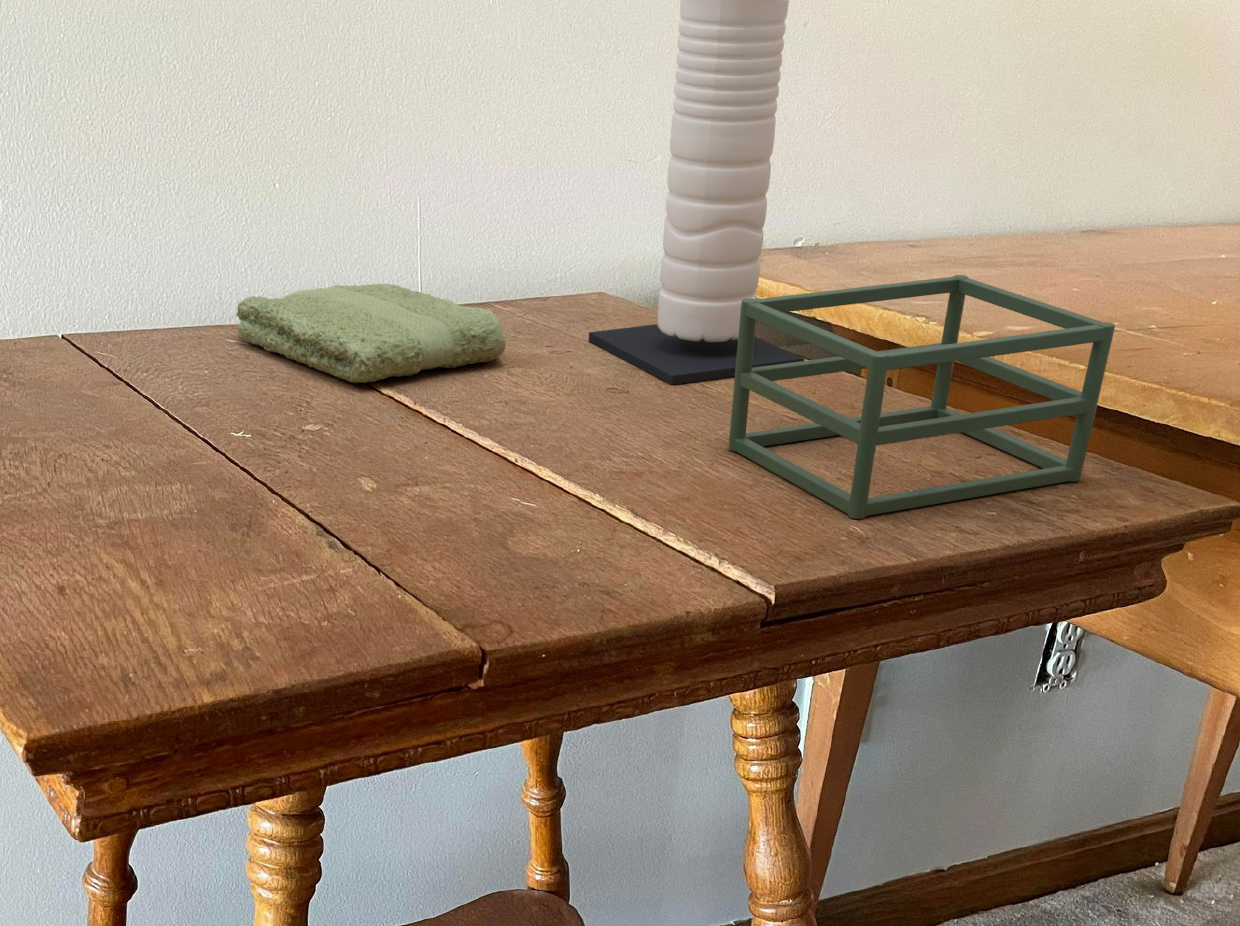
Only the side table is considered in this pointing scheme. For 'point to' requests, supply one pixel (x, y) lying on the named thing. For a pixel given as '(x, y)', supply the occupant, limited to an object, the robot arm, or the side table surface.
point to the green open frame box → (925, 419)
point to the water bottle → (719, 163)
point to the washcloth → (371, 330)
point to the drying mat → (684, 354)
